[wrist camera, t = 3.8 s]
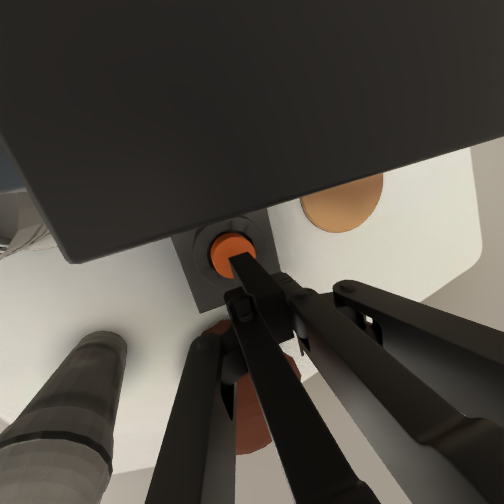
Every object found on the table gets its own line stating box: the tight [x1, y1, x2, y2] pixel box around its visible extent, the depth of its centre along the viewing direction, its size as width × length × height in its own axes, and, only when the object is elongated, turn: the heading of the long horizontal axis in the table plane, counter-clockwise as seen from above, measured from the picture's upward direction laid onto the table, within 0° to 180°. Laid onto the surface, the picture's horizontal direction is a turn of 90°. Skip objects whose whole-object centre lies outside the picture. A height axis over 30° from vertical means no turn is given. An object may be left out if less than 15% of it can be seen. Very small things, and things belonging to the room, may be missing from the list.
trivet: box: [300, 173, 383, 233], centre depth 26 cm, size 10×10×1 cm
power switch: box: [171, 208, 281, 313], centre depth 23 cm, size 11×9×4 cm
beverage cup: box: [0, 331, 127, 504], centre depth 15 cm, size 7×7×20 cm
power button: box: [211, 233, 256, 278], centre depth 21 cm, size 4×4×2 cm
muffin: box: [202, 320, 301, 455], centre depth 24 cm, size 12×11×10 cm
